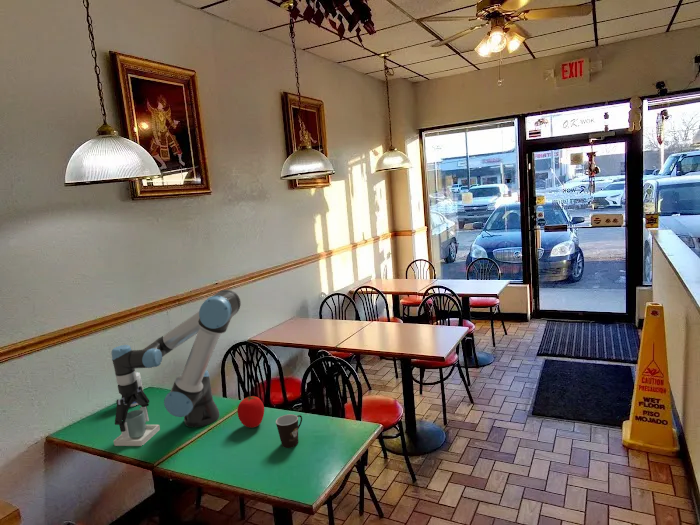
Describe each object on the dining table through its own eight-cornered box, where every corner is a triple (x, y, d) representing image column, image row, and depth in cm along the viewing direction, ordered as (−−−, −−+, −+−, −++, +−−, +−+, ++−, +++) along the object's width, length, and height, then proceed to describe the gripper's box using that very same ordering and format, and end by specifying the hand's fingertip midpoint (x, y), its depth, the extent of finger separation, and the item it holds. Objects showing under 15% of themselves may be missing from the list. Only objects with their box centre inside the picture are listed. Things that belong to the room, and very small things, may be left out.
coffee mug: (283, 452, 181) (280, 427, 180) (276, 442, 189) (272, 419, 187) (311, 442, 186) (308, 418, 185) (303, 432, 194) (300, 409, 192)
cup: (139, 440, 200) (135, 418, 198) (123, 440, 202) (119, 418, 200) (151, 431, 208) (147, 409, 206) (135, 431, 209) (131, 409, 208)
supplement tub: (126, 409, 235) (120, 381, 232) (122, 403, 242) (117, 376, 240) (147, 402, 240) (142, 375, 238) (142, 396, 248) (137, 370, 245)
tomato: (248, 435, 197) (243, 406, 195) (235, 427, 205) (231, 399, 203) (271, 424, 204) (267, 396, 202) (258, 416, 212) (254, 389, 210)
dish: (160, 429, 210) (159, 424, 210) (142, 445, 197) (141, 440, 197) (133, 429, 213) (132, 424, 212) (114, 445, 200) (113, 440, 200)
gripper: (137, 370, 214) (145, 414, 217) (98, 395, 190) (108, 444, 193) (152, 370, 212) (160, 414, 216) (115, 395, 188) (125, 445, 192)
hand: (136, 429), depth 204 cm, fingers open, 13 cm apart
